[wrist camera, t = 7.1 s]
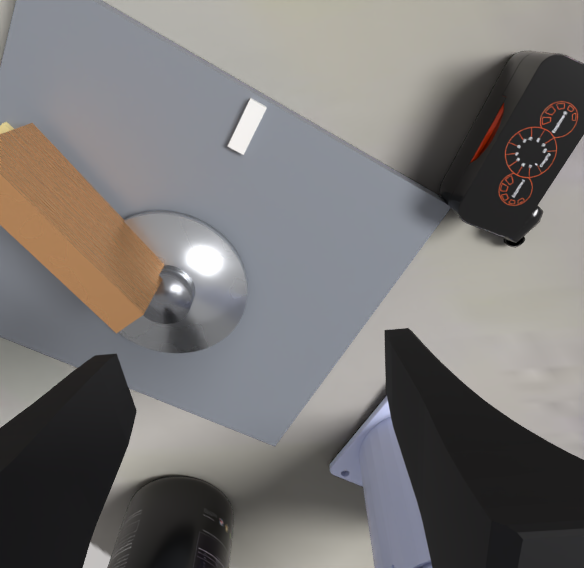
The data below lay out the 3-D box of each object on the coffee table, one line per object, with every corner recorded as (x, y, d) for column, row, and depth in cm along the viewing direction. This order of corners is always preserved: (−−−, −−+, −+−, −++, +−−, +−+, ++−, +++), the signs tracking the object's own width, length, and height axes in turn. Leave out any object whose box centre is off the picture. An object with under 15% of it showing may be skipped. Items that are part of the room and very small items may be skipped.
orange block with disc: (278, 299, 22) (275, 355, 18) (167, 369, 24) (142, 433, 20) (87, 74, 18) (30, 86, 14) (-31, 183, 20) (-109, 220, 16)
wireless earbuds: (422, 208, 22) (441, 235, 19) (510, 44, 19) (549, 47, 16) (510, 243, 23) (542, 274, 20) (609, 91, 19) (664, 101, 17)
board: (443, 198, 21) (453, 209, 20) (275, 430, 28) (274, 450, 27) (41, -35, 17) (20, -40, 16) (-43, 300, 24) (-63, 316, 23)
